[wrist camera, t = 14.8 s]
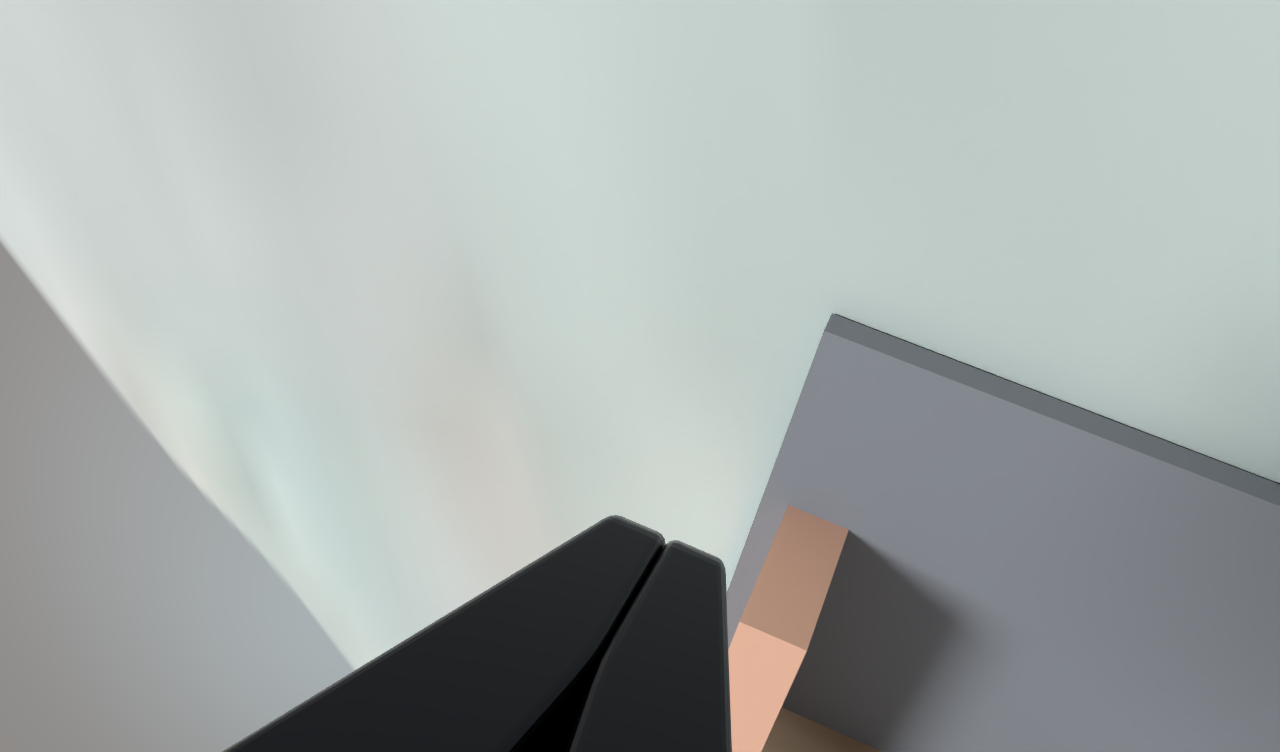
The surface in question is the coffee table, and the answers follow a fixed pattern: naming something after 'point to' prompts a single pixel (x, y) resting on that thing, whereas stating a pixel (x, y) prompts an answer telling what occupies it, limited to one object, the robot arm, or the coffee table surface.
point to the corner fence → (779, 623)
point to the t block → (808, 737)
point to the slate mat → (1019, 567)
